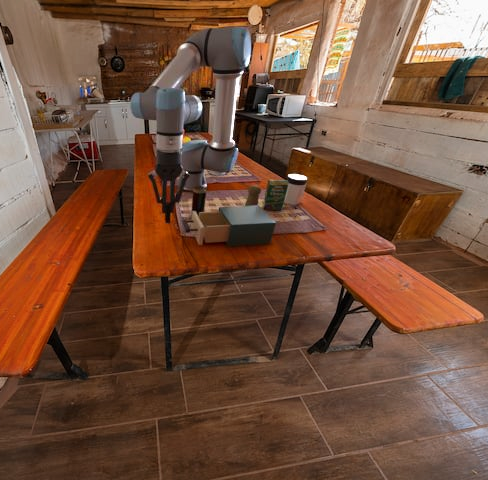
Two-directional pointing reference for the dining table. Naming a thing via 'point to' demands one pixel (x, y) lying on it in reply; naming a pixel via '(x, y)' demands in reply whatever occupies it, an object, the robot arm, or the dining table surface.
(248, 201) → the olive peanut shape
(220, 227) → the drawer
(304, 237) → the dining table surface
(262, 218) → the cabinet
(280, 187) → the coffee box
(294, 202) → the jar
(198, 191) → the tin
